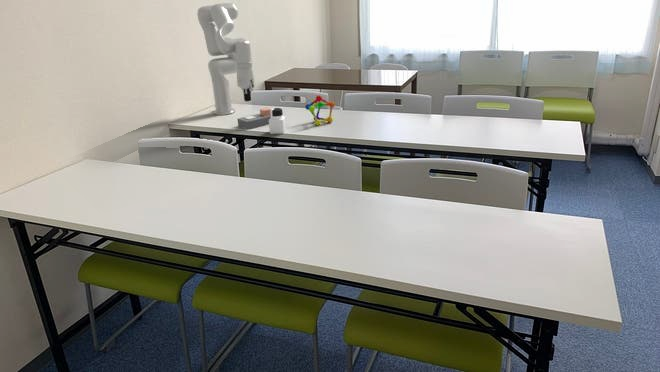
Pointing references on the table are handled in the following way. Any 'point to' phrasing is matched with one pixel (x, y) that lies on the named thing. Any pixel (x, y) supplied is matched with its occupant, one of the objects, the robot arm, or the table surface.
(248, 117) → the grey button
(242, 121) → the console
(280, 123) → the medicine bottle
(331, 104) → the educational toy
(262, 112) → the terracotta button
